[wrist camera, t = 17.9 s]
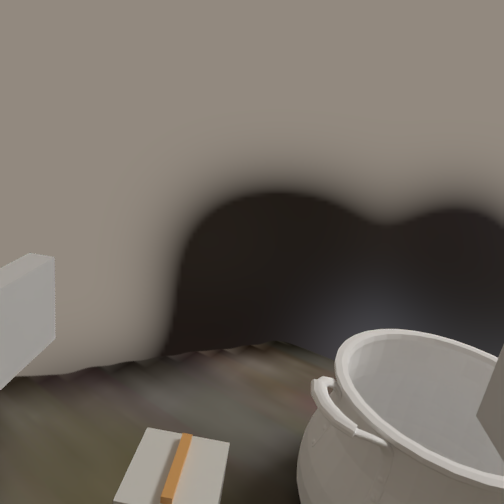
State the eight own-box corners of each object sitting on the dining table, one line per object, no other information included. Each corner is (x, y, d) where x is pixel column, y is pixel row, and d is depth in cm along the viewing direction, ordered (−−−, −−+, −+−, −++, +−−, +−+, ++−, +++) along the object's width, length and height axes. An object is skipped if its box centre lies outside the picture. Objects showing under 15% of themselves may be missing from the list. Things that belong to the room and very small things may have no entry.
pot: (358, 741, 28) (432, 558, 22) (240, 455, 49) (262, 324, 43) (616, 611, 38) (711, 464, 33) (427, 422, 59) (464, 313, 54)
